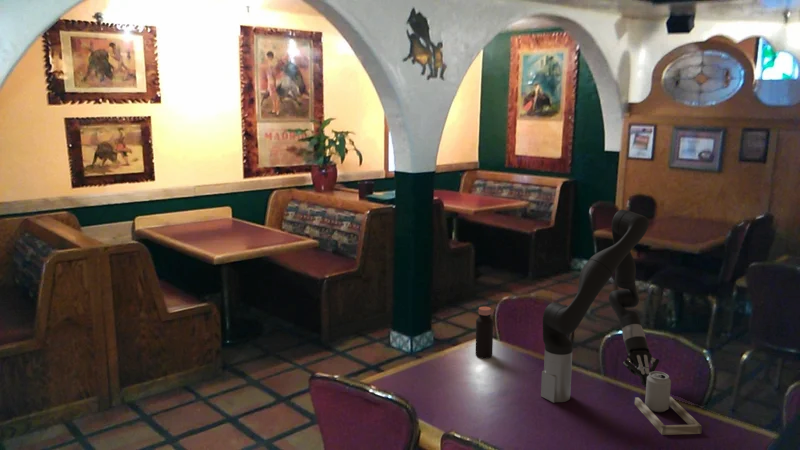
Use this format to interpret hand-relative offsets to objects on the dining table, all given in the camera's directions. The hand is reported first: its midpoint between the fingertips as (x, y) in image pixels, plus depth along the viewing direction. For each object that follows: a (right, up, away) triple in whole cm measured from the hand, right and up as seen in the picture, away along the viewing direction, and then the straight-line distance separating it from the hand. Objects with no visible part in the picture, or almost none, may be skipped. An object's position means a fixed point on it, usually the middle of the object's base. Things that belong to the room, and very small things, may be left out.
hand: (647, 386), depth 219 cm
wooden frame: (+1, -7, -14) cm, 15 cm away
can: (0, -6, -7) cm, 9 cm away
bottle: (-52, +3, +38) cm, 64 cm away
